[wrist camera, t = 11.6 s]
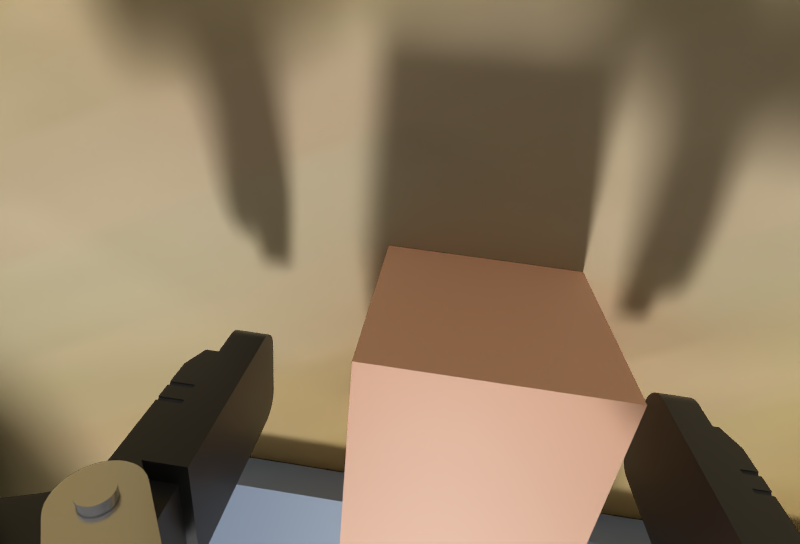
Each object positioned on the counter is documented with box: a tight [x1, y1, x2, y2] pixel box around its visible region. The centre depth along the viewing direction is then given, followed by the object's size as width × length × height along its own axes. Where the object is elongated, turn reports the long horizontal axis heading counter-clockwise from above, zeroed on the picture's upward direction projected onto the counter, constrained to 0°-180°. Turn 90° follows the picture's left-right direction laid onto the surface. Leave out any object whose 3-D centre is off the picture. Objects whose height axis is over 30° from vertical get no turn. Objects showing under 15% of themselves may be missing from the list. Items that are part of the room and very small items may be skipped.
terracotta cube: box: [340, 246, 647, 544], centre depth 11 cm, size 4×4×4 cm
